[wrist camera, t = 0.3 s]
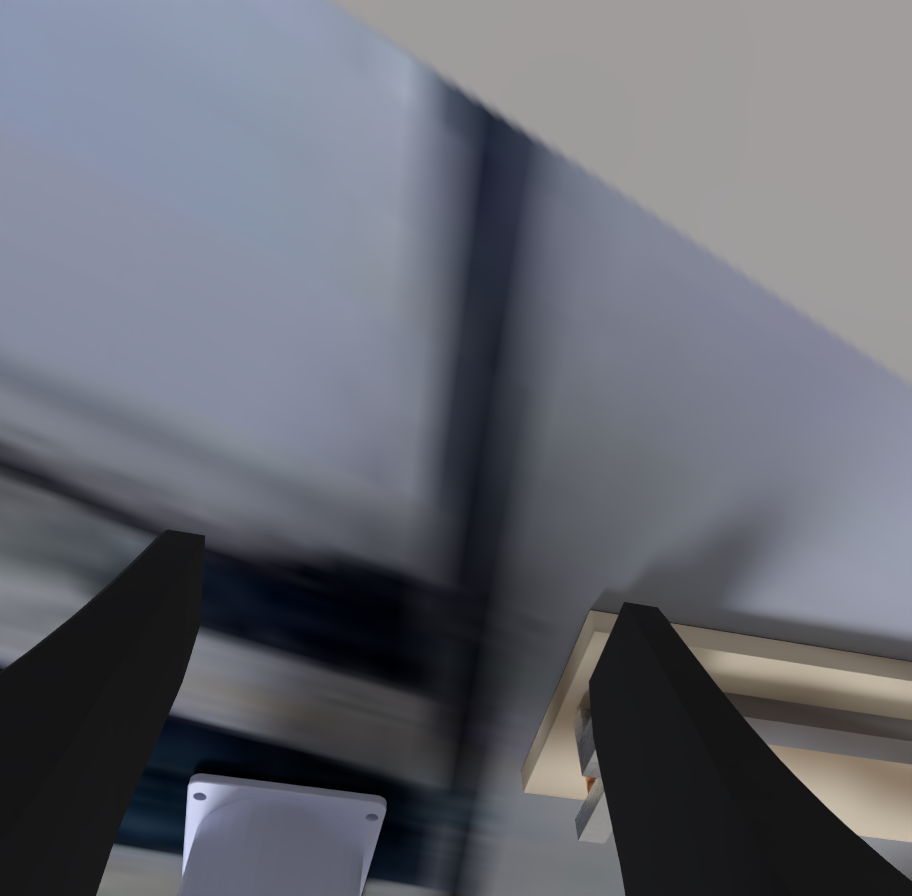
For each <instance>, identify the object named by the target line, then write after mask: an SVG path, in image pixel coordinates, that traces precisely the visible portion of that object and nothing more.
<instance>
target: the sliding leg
mask: <svg viewBox="0 0 912 896" xmlns="http://www.w3.org/2000/svg"><path fill="white" fill-rule="evenodd" d="M573 725H574V731H575V737H576V743H577V749H578V755H579V761H580V767H581V773H582V776H583V777H585V779H586V785H587V791H588V796H587V798H586V800H585V801H584V803H583V805H582V807H581V809H580V811H579V813H578V815H577V817H576V819H575V822H576V829H577V835H578V840H579V841H587V842H595V843H603V844H605V842H606V840H607V838H608V837H609V835H610V833H611V831H612V830H613V829H612V824H611V820H610V815H609V810H608V806H607V801H606V797H605V792H604V787H603V783H602V778H601V773H600V769H599V764H598V759H597V754H596V749H595V744H594V739H593V730H592V720H591V709H588V708H581V707H580V708H579V710H578V712H577V714H576V716H575V718H574V721H573Z"/></svg>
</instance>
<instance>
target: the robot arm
mask: <svg viewBox="0 0 912 896" xmlns="http://www.w3.org/2000/svg"><path fill="white" fill-rule="evenodd" d="M204 548H205V536H204V535H198V534H192V533H185V532H179V531H173V530H166V531H164V532H163V533H161V534H160V535H159V536H158V537H157V538H156V539H155V540H154V541H153V542H152V543H151V544H150V545H149V546H148V547H147V548H146V549H145V550H144V551H143V552H142V553H141V554H140V555H139V556H138V557H137V558H136V559H135V560H134V561H133V562H132V563H131V564H130V565H129V566H128V567H127V568H126V569H125V570H124V571H123V572H121V573H120V574H119V575H118V576H117V577H116V578H115V579H114V580H113V581H112V582H111V583H110V584H109V585H108V586H106V587H105V588H104V589H103V590H102V591H101V592H100V593H98V594H97V595H96V596H95V597H94V598H93V599H92V600H91V601H89V602H88V603H87V604H86V605H85V606H84V607H83V608H82V609H80V610H79V611H78V612H77V613H76V614H75V615H73V616H72V617H71V618H70V619H69V620H67V621H66V622H65V623H64V624H62V625H61V626H60V627H59V628H57V629H56V630H55V631H54V632H52V633H51V634H50V635H48V636H47V637H46V638H45V639H43V640H42V641H41V642H40V643H38V644H37V645H36V646H35V647H33V648H32V649H31V650H30V651H28V652H27V653H26V654H24V655H23V656H21V657H20V658H19V659H17V660H16V661H15V662H13V663H12V664H11V665H9V666H8V667H6V668H5V669H4V670H2V671H1V672H0V896H96V894H97V891H98V888H99V885H100V882H101V879H102V876H103V873H104V870H105V867H106V864H107V861H108V858H109V855H110V852H111V849H112V846H113V843H114V840H115V837H116V834H117V832H118V829H119V827H120V824H121V822H122V819H123V817H124V814H125V812H126V809H127V807H128V804H129V802H130V800H131V798H132V795H133V793H134V791H135V789H136V786H137V784H138V782H139V780H140V777H141V775H142V773H143V771H144V768H145V766H146V764H147V762H148V759H149V757H150V755H151V753H152V750H153V748H154V746H155V744H156V741H157V739H158V737H159V735H160V732H161V730H162V728H163V725H164V723H165V721H166V719H167V716H168V714H169V712H170V710H171V707H172V705H173V703H174V700H175V698H176V696H177V693H178V691H179V689H180V686H181V684H182V682H183V679H184V675H185V672H186V669H187V666H188V663H189V660H190V656H191V653H192V650H193V646H194V643H195V640H196V636H197V633H198V630H199V627H200V613H201V597H202V581H203V564H204ZM589 693H590V708H591V720H592V730H593V739H594V744H595V749H596V754H597V759H598V764H599V769H600V773H601V778H602V783H603V787H604V792H605V797H606V801H607V806H608V810H609V815H610V820H611V824H612V829H613V833H614V838H615V843H616V847H617V852H618V857H619V861H620V866H621V872H622V878H623V883H624V889H625V896H912V881H911V880H909V879H908V878H907V877H906V876H905V875H903V874H902V873H901V872H900V871H898V870H897V869H896V868H895V867H894V866H892V865H891V864H890V863H889V862H888V861H886V860H885V859H884V858H883V857H882V856H881V855H879V854H878V853H877V852H876V851H875V850H874V849H873V848H872V847H870V846H869V845H868V844H867V843H866V842H865V841H864V840H862V839H861V838H860V837H859V836H858V835H857V834H856V833H854V832H853V831H852V830H851V829H850V828H849V827H848V826H847V825H846V824H844V823H843V822H842V821H841V820H840V819H839V818H838V817H837V816H836V815H835V814H834V813H833V812H832V811H831V810H829V809H828V808H827V807H826V806H825V805H824V804H823V803H822V802H821V801H820V800H819V799H818V798H817V797H816V796H815V795H814V794H813V793H812V792H811V791H810V790H809V789H808V788H807V787H806V786H805V785H804V784H803V783H802V782H801V781H800V780H799V779H798V778H797V777H796V776H795V775H794V774H793V773H792V771H791V770H790V769H789V768H788V767H787V766H786V765H785V764H784V763H783V762H782V761H781V760H780V759H779V758H778V756H777V755H776V754H775V753H774V752H773V751H772V750H771V749H770V747H769V746H768V745H767V744H766V743H765V742H764V741H763V739H762V738H761V737H760V736H759V735H758V734H757V733H756V732H755V730H754V729H753V728H752V727H751V726H750V725H749V723H748V722H747V721H746V720H745V719H744V717H743V716H742V715H741V714H740V713H739V711H738V710H737V709H736V708H735V707H734V705H733V704H732V703H731V702H730V700H729V699H728V698H727V697H726V695H725V694H724V693H723V692H722V690H721V689H720V688H719V687H718V685H717V684H716V683H715V682H714V680H713V679H712V678H711V676H710V675H709V674H708V673H707V671H706V670H705V669H704V667H703V666H702V665H701V663H700V662H699V661H698V659H697V658H696V657H695V656H694V654H693V653H692V652H691V650H690V649H689V648H688V646H687V645H686V644H685V642H684V641H683V640H682V638H681V637H680V636H679V634H678V633H677V632H676V630H675V629H674V628H673V627H672V625H671V624H670V623H669V621H668V620H667V619H666V618H665V616H664V615H663V614H662V613H661V611H660V610H659V609H658V608H657V607H652V606H645V605H639V604H633V603H626V602H624V604H623V606H622V608H621V611H620V613H619V615H618V617H617V620H616V622H615V624H614V626H613V629H612V631H611V633H610V635H609V638H608V640H607V642H606V644H605V647H604V649H603V651H602V653H601V656H600V658H599V660H598V662H597V665H596V667H595V669H594V671H593V674H592V676H591V678H590V680H589ZM386 806H387V801H386V800H385V799H384V798H383V797H381V796H378V795H372V794H364V793H356V792H348V791H340V790H332V789H324V788H316V787H308V786H300V785H292V784H284V783H276V782H268V781H260V780H252V779H244V778H236V777H228V776H220V775H212V774H204V773H199V774H195V775H193V776H192V777H191V779H190V782H189V785H188V794H187V809H186V824H185V839H184V854H183V869H182V881H181V885H180V888H179V892H178V895H177V896H361V894H362V891H363V888H364V884H365V881H366V877H367V874H368V871H369V867H370V864H371V861H372V857H373V854H374V850H375V847H376V844H377V840H378V837H379V833H380V830H381V827H382V823H383V820H384V816H385V813H386Z"/></svg>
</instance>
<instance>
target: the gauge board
mask: <svg viewBox="0 0 912 896" xmlns="http://www.w3.org/2000/svg"><path fill="white" fill-rule="evenodd" d="M617 617H618V615H617V614H611V613H605V612H599V611H592V610H590V611H589V614H588V616H587V618H586V621H585V623H584V625H583V628H582V630H581V632H580V635H579V637H578V639H577V642H576V644H575V646H574V649H573V651H572V653H571V656H570V658H569V660H568V663H567V665H566V667H565V670H564V672H563V674H562V677H561V679H560V681H559V684H558V686H557V688H556V691H555V693H554V695H553V698H552V700H551V702H550V705H549V707H548V709H547V712H546V714H545V716H544V718H543V721H542V723H541V725H540V728H539V730H538V732H537V735H536V737H535V739H534V742H533V744H532V746H531V749H530V751H529V753H528V756H527V758H526V760H525V763H524V765H523V767H522V781H523V792H525V793H533V794H541V795H549V796H556V797H564V798H572V799H580V800H586V798H587V796H588V791H587V785H586V779H585V777H583V776H582V773H581V767H580V761H579V755H578V749H577V743H576V737H575V731H574V725H573V721H574V718H575V716H576V714H577V712H578V710H579V708H580V707H581V708H588V709H591V708H590V693H589V680H590V678H591V676H592V674H593V671H594V669H595V667H596V665H597V662H598V660H599V658H600V656H601V653H602V651H603V649H604V647H605V644H606V642H607V640H608V638H609V635H610V633H611V631H612V629H613V626H614V624H615V622H616V620H617ZM670 624H671V625H672V627H673V628H674V629H675V630H676V632H677V633H678V634H679V636H680V637H681V638H682V640H683V641H684V642H685V644H686V645H687V646H688V648H689V649H690V650H691V652H692V653H693V654H694V656H695V657H696V658H697V659H698V661H699V662H700V663H701V665H702V666H703V667H704V669H705V670H706V671H707V673H708V674H709V675H710V676H711V678H712V679H713V680H714V682H715V683H716V684H717V685H718V687H719V688H720V689H721V690H722V692H723V693H724V694H725V695H726V697H727V698H728V699H729V700H730V702H731V703H732V704H733V705H734V707H735V708H736V709H737V710H738V711H739V713H740V714H741V715H742V716H743V717H744V719H745V720H746V721H747V722H748V723H749V725H750V726H751V727H752V728H753V729H754V730H755V732H756V733H757V734H758V735H759V736H760V737H761V738H762V739H763V741H764V742H765V743H766V744H767V745H768V746H769V747H770V749H771V750H772V751H773V752H774V753H775V754H776V755H777V756H778V758H779V759H780V760H781V761H782V762H783V763H784V764H785V765H786V766H787V767H788V768H789V769H790V770H791V771H792V773H793V774H794V775H795V776H796V777H797V778H798V779H799V780H800V781H801V782H802V783H803V784H804V785H805V786H806V787H807V788H808V789H809V790H810V791H811V792H812V793H813V794H814V795H815V796H816V797H817V798H818V799H819V800H820V801H821V802H822V803H823V804H824V805H825V806H826V807H827V808H828V809H829V810H831V811H832V812H833V813H834V814H835V815H836V816H837V817H838V818H839V819H840V820H841V821H842V822H843V823H844V824H846V825H847V826H848V827H849V828H850V829H851V830H852V831H853V832H854V833H856V834H857V835H859V836H867V837H875V838H883V839H890V840H898V841H906V842H912V662H909V661H902V660H896V659H890V658H884V657H878V656H871V655H865V654H859V653H853V652H847V651H840V650H834V649H828V648H822V647H816V646H809V645H803V644H797V643H791V642H785V641H778V640H772V639H766V638H760V637H754V636H747V635H741V634H735V633H729V632H723V631H716V630H710V629H704V628H698V627H692V626H685V625H679V624H673V623H670Z"/></svg>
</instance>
